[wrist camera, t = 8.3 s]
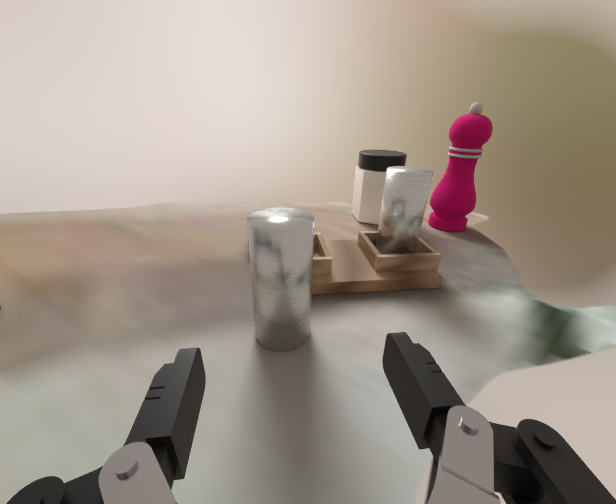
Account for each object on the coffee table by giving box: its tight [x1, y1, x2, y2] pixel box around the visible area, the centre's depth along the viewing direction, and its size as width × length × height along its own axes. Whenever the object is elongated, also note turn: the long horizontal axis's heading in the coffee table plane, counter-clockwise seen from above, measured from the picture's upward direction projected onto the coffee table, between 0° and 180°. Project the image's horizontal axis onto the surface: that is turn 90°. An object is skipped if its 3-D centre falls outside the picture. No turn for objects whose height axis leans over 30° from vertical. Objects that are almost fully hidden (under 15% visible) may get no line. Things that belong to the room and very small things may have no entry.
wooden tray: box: [311, 231, 442, 295], centre depth 36 cm, size 21×11×4 cm, turn 97°
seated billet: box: [376, 166, 433, 255], centre depth 35 cm, size 5×5×11 cm
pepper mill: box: [428, 102, 492, 232], centre depth 48 cm, size 7×7×20 cm
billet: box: [247, 208, 314, 352], centre depth 24 cm, size 5×5×11 cm
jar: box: [352, 150, 406, 225], centre depth 53 cm, size 9×8×12 cm
